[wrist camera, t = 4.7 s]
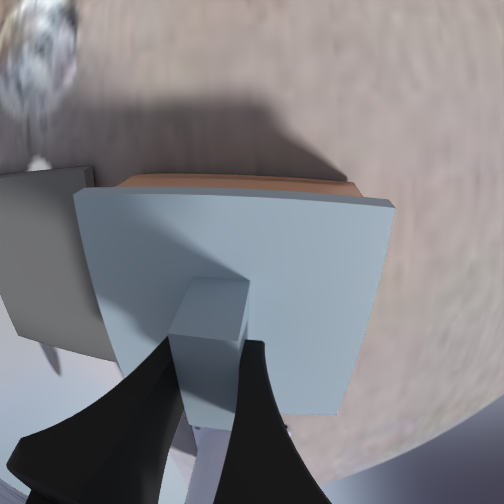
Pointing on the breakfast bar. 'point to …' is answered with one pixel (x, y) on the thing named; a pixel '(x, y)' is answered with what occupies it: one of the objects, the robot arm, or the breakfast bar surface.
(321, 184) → the square open tray
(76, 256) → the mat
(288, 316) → the lid
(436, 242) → the breakfast bar surface
